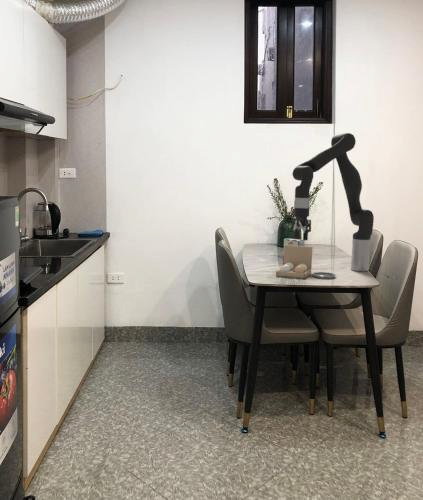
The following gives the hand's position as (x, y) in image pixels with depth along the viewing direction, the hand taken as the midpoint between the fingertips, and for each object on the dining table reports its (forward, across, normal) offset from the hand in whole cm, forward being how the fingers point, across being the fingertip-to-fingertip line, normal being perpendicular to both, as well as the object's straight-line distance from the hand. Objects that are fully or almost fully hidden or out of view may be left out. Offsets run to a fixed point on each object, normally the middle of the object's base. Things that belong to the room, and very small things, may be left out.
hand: (300, 239), depth 240 cm
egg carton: (+19, -5, 0) cm, 20 cm away
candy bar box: (+20, -20, +8) cm, 29 cm away
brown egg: (+16, 0, 0) cm, 16 cm away
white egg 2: (+16, -10, 0) cm, 19 cm away
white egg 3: (+16, -5, +5) cm, 18 cm away
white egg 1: (+16, -5, -5) cm, 18 cm away
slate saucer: (+19, +4, +12) cm, 23 cm away
